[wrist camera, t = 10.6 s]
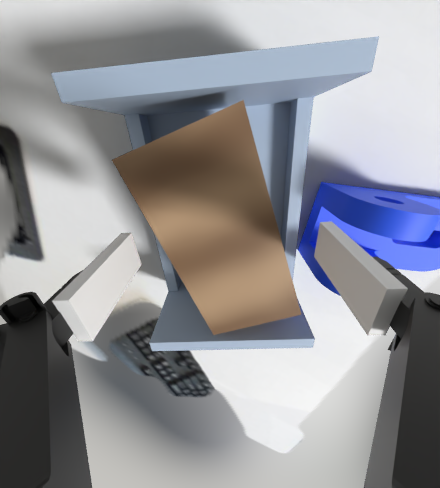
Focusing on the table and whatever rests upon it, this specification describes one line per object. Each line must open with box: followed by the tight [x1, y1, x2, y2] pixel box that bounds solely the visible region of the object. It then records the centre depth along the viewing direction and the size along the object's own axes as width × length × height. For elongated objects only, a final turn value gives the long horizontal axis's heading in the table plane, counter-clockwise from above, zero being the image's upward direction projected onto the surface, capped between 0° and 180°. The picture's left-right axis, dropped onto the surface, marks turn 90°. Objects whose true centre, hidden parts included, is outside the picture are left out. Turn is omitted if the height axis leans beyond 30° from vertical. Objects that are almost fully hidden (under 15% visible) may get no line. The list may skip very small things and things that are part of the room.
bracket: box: [298, 182, 440, 296], centre depth 20 cm, size 18×8×9 cm, turn 83°
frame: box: [51, 37, 379, 351], centre depth 19 cm, size 21×15×10 cm
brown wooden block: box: [112, 100, 301, 335], centre depth 17 cm, size 16×8×6 cm, turn 21°
